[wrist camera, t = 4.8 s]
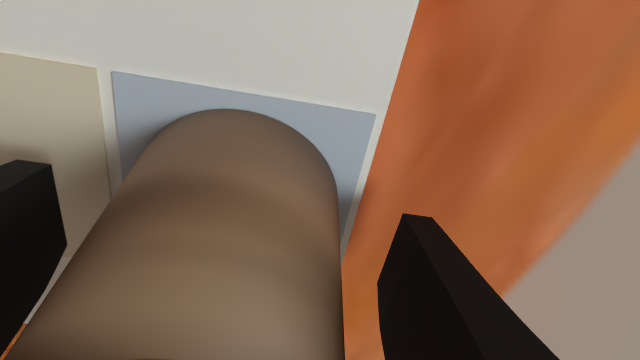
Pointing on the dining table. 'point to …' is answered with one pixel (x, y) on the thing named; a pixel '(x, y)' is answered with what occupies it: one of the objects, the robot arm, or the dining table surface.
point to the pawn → (205, 254)
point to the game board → (190, 85)
